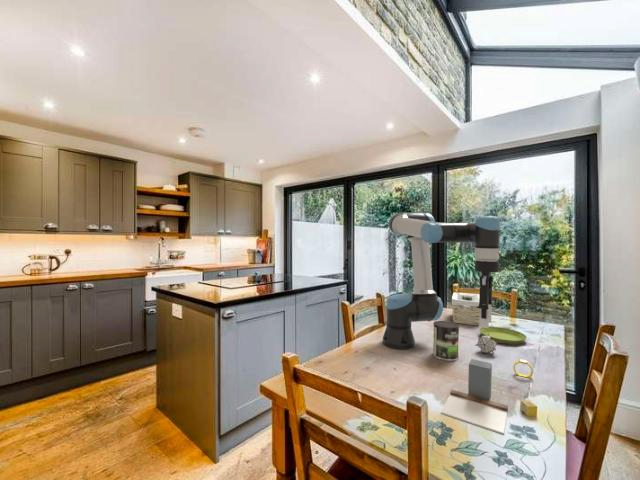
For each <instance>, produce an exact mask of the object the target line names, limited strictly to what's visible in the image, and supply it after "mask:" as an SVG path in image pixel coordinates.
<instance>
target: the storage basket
mask: <svg viewBox="0 0 640 480" xmlns="http://www.w3.org/2000/svg"><path fill="white" fill-rule="evenodd" d="M451 296H452V297H451V306H452V320H453V321H452V322H453V323H456V324H464V325H469V326H470V325H471V326H472V325H473V326H479V322H480V308H477V306H479V296H480V293H469V292H453V293H452V295H451ZM463 298H468V299H471V300H466V299H463Z"/></svg>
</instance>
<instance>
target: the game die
mask: <svg viewBox="0 0 640 480" xmlns="http://www.w3.org/2000/svg"><path fill="white" fill-rule="evenodd" d="M477 340H478V341H477V344H475V345H474V346H476V347H478V348H479V349H480V351H482V352H484V355H486V354H489V353H493V354H495V352H494V351H496V350H497V349H496V346H497V344H499V343H498V342H495V341H494V340H493V338H491V337H490V336H489V334H488V335H487V336H483V335H482V334H479V337H478V338H477Z"/></svg>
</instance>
